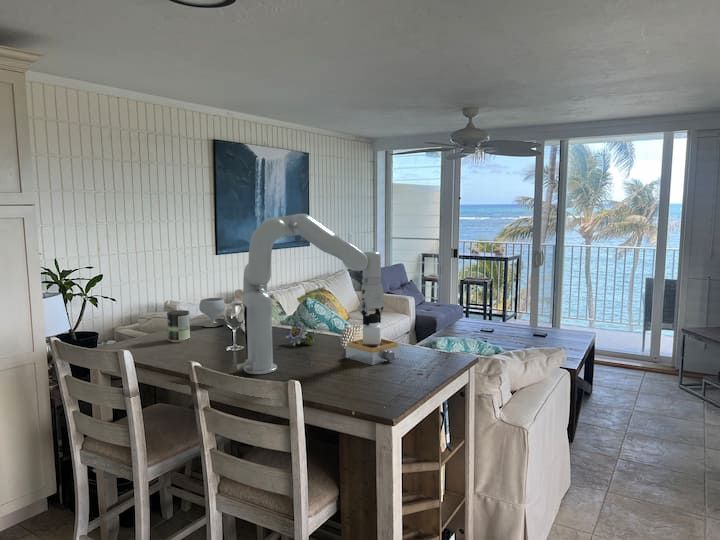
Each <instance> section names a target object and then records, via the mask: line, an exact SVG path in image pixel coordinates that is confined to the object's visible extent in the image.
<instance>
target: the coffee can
mask: <svg viewBox="0 0 720 540" xmlns="http://www.w3.org/2000/svg"><path fill="white" fill-rule="evenodd" d="M166 317H167V336H168V337H167V338H168V339H170V340H185V339H188V338H190V339H191V334H190V333H191V331H190V330H191V329H190V328H191V327H190V311H189V310H183V309H181V310H180V309H179V310H171V311H168V312H167V313H166Z"/></svg>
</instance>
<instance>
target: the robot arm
mask: <svg viewBox="0 0 720 540" xmlns="http://www.w3.org/2000/svg"><path fill="white" fill-rule="evenodd" d="M292 236H293V237H294V236H300V237H302V238H303V239H305V240H306V241H308V242H309V243H310V244H312V245H313V246H315V248H317V249H319V250H321V251H322V252H323V253H325V254H328V255H331V256H333V257H335V258H336V259H339V260H340V261H341V262H342V263H343V266H345V267H346V268H347V269H349V270H353V271H357V272H361V271H362V279H361V283H362V285H361V287H360V288H361V289H360V302H359V305H358V307H357V310H358V311H359V312H360V313H361V316H362V325H363V326H364V325H369V316H368V314H370V310H374V313H373V314H377V315H379V324H381V323H382V321H381V320H382V317H381V315H382V312H383V310H384V308H385V306H386V302H385V295H384V294H385V293H384V287H383V284H382V282H381V281H382V276H381V275H382V274H381V273H382V272H381V269H382V268H381V267H382V266H381V265H382V260H381V259H382V258H381V257H382V255H381V253H380V252H379V251H373V250H371V251H365V252H364V251H362V250H360V249H358V247H356V246H354V245H353V244H352V243H350V242H349V241H346V240H345V239H343V238H342V237H340V236H339V235H337V234H336V233H334V232H332V230H331V229H329V228H327V227H326V226H324V225H323V224H321V223H320V222H319V221H317V220H316V219H315V218H313V217H312V216H311V215H309V214H307V213H295V214H291V215H290V214H289V215H285V216H276V217H268V218H266V219H264V220H263V221H262V223H261V224H260V225H259V226H258V227H257V228H256V229H255V230H254V232H253V234H252V236H251V238H250V242H249V249H248V263H246V265H245V267H244V270H243V279H242V280H243V282H242V283H243V286H242V287H243V288H242V299H243V300H242V301H243V303H244V305H245V307H246V334H247V335H246V336H247V339H246V340H247V358H246V359H245V361H244V362H243V363H238V364H236V369H237V370H242V369H243V370H244V373H246V374H250V375H264V374H271V373H272V372H275V371H276V370H278V365H277V364H275V363H274V357H273V356H274V353H273V350H274V349H273V325H272V324H273V300H272V297H271V296H270V294H269V293H268V283H269V282H270V281H271V278H272V254H273V253H272V250H273V247H274V244H275V243H276V241H278V240H280V239H282V238H288V237H292Z"/></svg>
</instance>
